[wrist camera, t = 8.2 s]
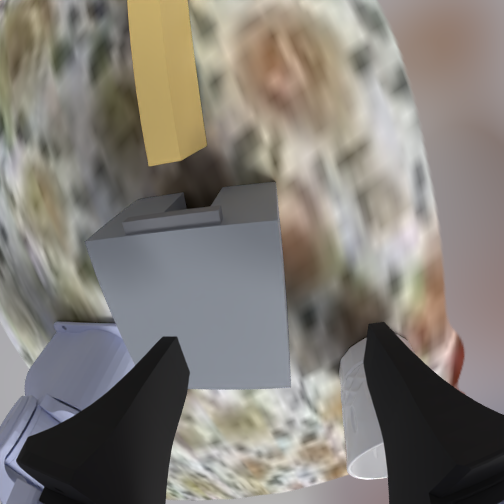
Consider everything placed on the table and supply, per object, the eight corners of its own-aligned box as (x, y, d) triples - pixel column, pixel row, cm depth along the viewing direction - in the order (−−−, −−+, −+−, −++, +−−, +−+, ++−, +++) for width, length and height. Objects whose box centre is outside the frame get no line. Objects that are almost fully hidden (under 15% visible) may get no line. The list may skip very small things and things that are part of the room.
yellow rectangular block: (182, 149, 17) (148, 166, 12) (163, 2, 13) (125, -29, 8) (207, 145, 17) (181, 160, 12) (187, -5, 13) (156, -40, 8)
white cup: (318, 351, 24) (331, 458, 15) (406, 311, 22) (454, 410, 13) (348, 398, 27) (363, 486, 18) (422, 366, 25) (455, 450, 16)
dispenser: (172, 321, 23) (145, 386, 17) (135, 190, 19) (81, 229, 13) (287, 316, 22) (290, 387, 16) (274, 172, 18) (276, 205, 12)
